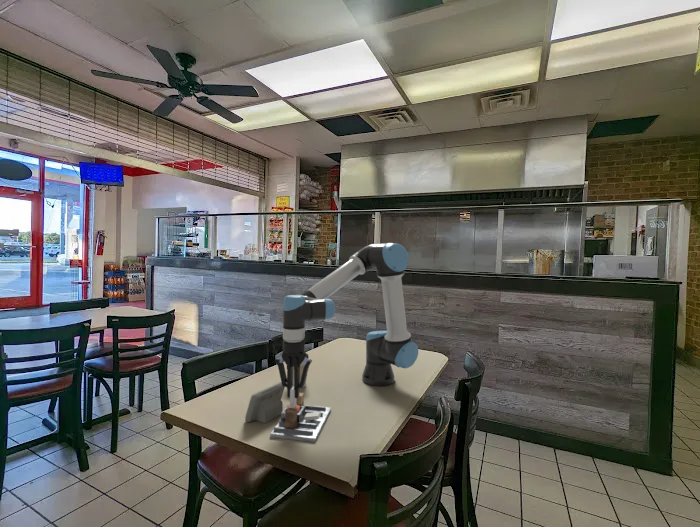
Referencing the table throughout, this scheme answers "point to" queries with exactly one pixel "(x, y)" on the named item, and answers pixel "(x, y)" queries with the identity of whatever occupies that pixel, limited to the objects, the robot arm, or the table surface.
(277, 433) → the grey compartment tray
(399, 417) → the table surface
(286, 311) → the robot arm
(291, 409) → the dark brown wooden block
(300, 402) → the tan wooden block
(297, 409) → the button
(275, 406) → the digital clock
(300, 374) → the coffee cup
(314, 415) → the block
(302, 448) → the table surface
